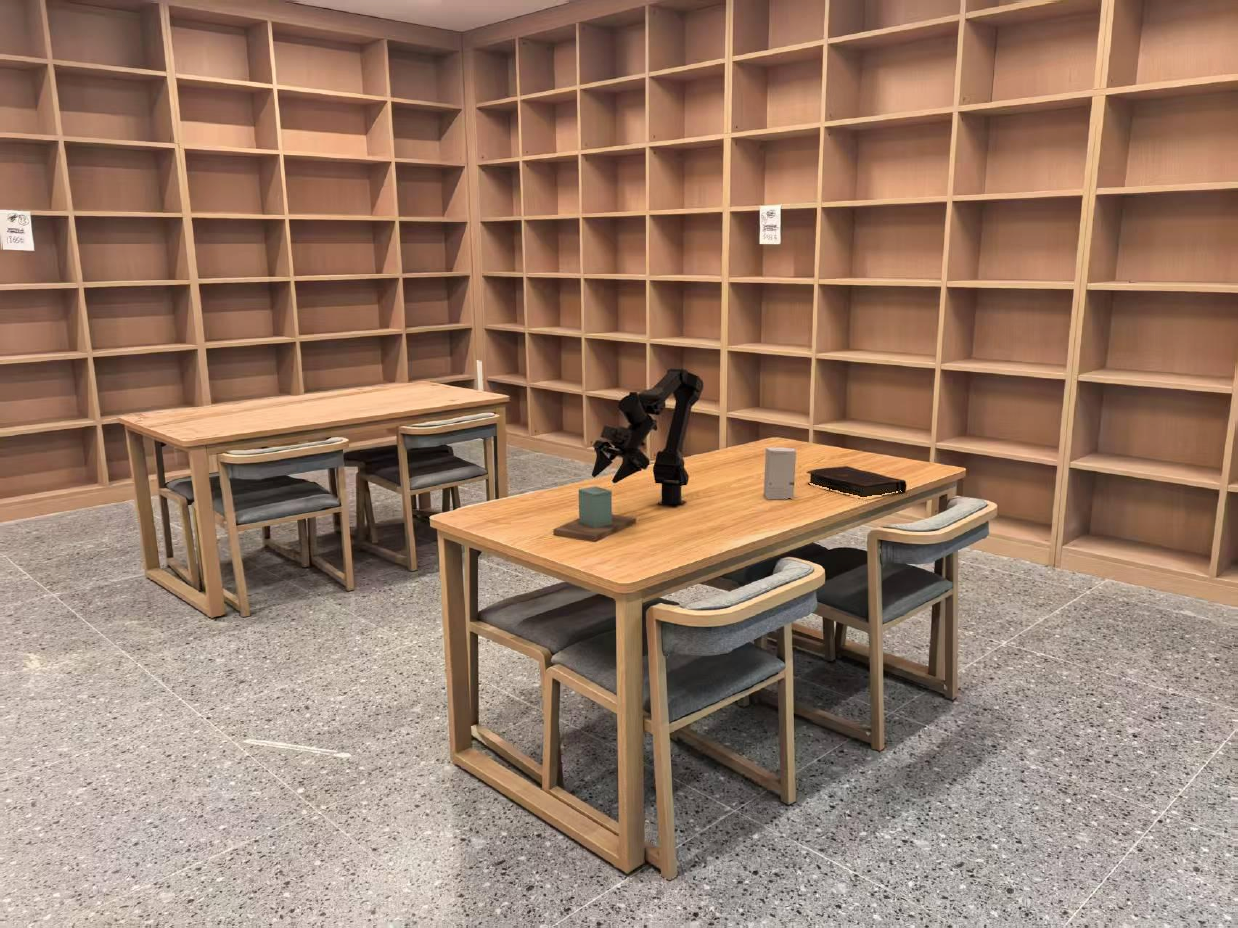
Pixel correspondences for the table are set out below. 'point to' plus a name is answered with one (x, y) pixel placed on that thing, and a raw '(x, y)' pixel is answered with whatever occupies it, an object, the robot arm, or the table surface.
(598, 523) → the seafoam square prism
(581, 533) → the stud board
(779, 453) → the skincare box
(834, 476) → the diary
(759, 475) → the table surface
